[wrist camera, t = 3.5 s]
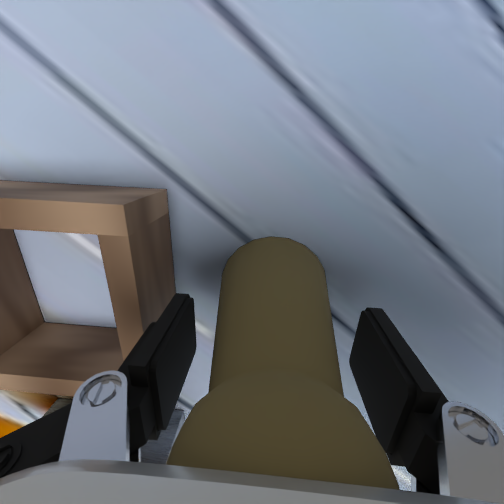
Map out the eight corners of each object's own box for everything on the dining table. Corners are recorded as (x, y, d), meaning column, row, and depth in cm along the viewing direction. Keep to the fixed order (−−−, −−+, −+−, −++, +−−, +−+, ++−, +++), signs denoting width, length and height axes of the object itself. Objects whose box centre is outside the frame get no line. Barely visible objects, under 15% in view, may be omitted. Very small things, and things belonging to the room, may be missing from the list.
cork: (215, 239, 13) (42, 511, 3) (328, 233, 13) (545, 540, 3) (227, 328, 16) (147, 655, 6) (324, 327, 15) (434, 688, 5)
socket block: (166, 189, 13) (123, 204, 9) (180, 347, 17) (154, 404, 13) (-26, 179, 13) (-143, 189, 9) (32, 335, 17) (-34, 386, 13)
